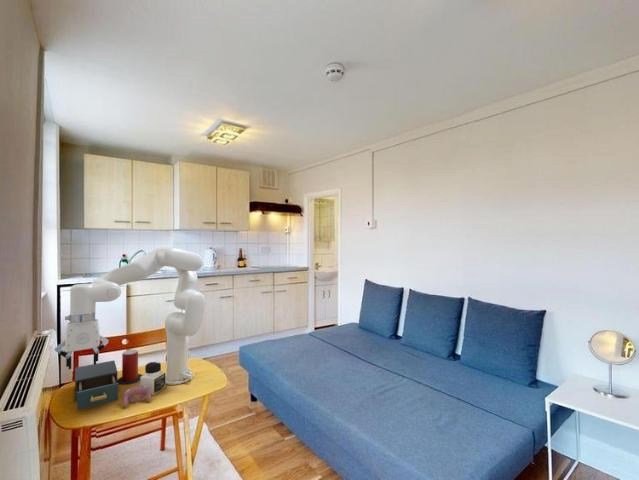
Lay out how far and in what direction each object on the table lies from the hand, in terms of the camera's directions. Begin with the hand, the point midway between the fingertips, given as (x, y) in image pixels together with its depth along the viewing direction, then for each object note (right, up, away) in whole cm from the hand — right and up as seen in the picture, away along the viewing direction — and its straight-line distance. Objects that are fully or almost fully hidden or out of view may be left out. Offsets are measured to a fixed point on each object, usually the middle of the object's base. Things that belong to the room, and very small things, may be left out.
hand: (82, 365), depth 118 cm
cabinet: (-11, -19, +22) cm, 31 cm away
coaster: (-1, -19, +32) cm, 37 cm away
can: (-1, -19, +32) cm, 37 cm away
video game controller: (+13, -20, +12) cm, 27 cm away
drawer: (-3, -19, +12) cm, 22 cm away
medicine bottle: (+14, -20, +22) cm, 33 cm away
